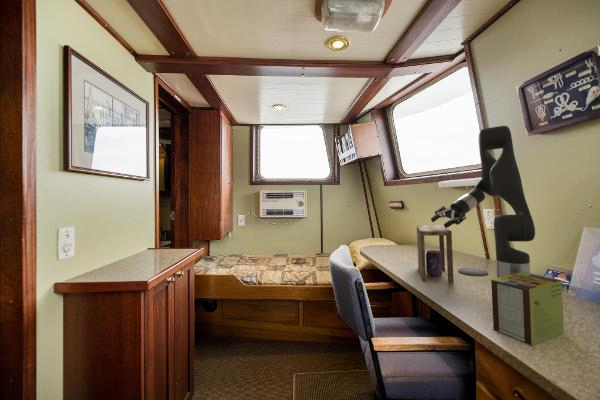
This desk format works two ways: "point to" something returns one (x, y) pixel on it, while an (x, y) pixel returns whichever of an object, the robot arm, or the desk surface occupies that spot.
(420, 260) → the walnut shelf
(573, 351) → the desk surface
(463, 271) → the charcoal mat
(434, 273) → the beverage can
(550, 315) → the protein box
